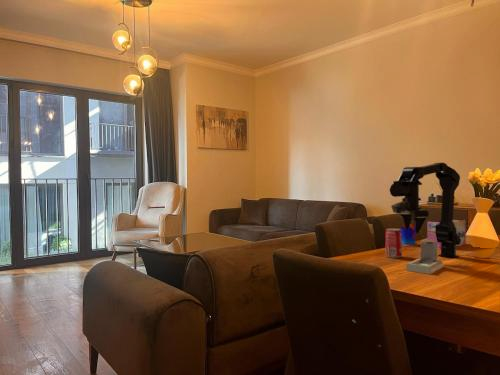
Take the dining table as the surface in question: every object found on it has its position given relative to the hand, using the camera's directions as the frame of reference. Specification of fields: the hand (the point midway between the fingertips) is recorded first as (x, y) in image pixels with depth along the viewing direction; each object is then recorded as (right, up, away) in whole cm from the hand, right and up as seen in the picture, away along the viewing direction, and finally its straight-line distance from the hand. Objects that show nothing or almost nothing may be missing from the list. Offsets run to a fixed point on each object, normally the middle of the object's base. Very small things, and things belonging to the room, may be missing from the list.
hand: (411, 231), depth 170 cm
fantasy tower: (+16, -13, +42) cm, 47 cm away
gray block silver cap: (+3, -12, -9) cm, 15 cm away
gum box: (+36, -13, +41) cm, 55 cm away
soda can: (-4, -14, +11) cm, 18 cm away
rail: (+1, -14, -12) cm, 18 cm away
